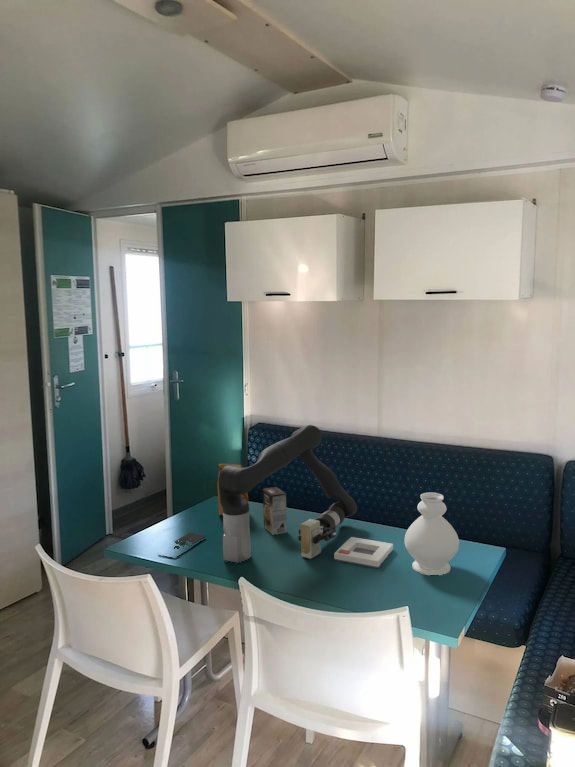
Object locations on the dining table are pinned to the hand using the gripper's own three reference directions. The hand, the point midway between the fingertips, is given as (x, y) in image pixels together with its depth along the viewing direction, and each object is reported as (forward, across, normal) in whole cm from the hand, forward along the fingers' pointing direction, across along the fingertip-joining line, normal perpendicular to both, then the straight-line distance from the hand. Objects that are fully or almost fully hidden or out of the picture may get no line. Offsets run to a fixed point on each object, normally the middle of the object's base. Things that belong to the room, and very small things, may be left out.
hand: (307, 539), depth 224 cm
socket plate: (-11, +17, +7) cm, 21 cm away
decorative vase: (-11, +41, +7) cm, 43 cm away
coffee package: (-27, -47, +7) cm, 55 cm away
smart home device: (+9, -47, +8) cm, 49 cm away
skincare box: (-3, 0, +7) cm, 7 cm away
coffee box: (-19, -23, +7) cm, 31 cm away
